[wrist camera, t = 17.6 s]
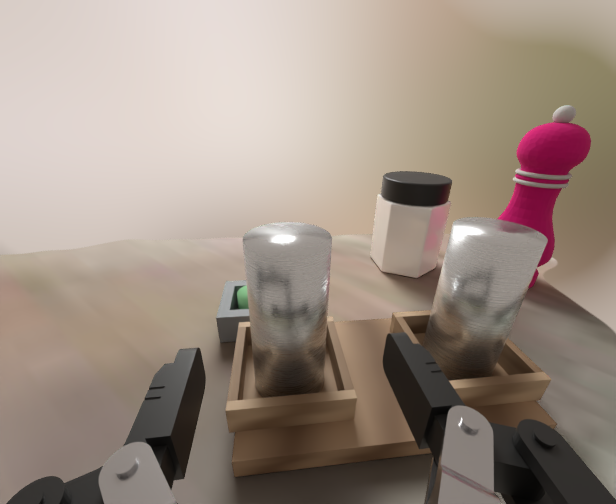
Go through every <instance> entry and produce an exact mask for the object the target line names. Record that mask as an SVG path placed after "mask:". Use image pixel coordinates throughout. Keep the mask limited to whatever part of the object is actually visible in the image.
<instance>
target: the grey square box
mask: <svg viewBox="0 0 616 504" xmlns="http://www.w3.org/2000/svg"><path fill="white" fill-rule="evenodd" d="M246 285H247V284H246V280H243V281H226V283H225V287H224V291H223V295H222V298H221V302H220V306H219V310H218V313H217V317H216V319H217V326H218V332H219V338H220V342H234V341H236V339H237V332H238V326H239V322H250V318H249V309H239V310H237V308H239V307H238V298H237V292H238V290H239V289H240V288H242V287H244V286H246Z"/></svg>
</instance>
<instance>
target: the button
mask: <svg viewBox="0 0 616 504" xmlns="http://www.w3.org/2000/svg"><path fill="white" fill-rule="evenodd" d="M237 298H238V307H239V309H249V306H248V295H247V285H246V286H244V287H242V288H240V289H239V290H238V292H237Z"/></svg>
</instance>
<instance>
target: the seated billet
mask: <svg viewBox="0 0 616 504" xmlns="http://www.w3.org/2000/svg"><path fill="white" fill-rule="evenodd" d="M547 242H548V239H547V238H546V236H544V235H543V234H542V233H540V232H538V231H536V230H534V229H532V228H529V227H527V226H524V225H521V224H517V223H513V222H509V221H504V220H499V219H491V218H481V217H467V218H461V219H458V220H456V221H454V223H453V226H452V230H451V234H450V238H449V242H448V246H447V250H446V254H445V258H444V262H443V266H442V270H441V274H440V278H439V282H438V286H437V290H436V293H435V297H434V301H433V305H432V309H431V313H430V317H429V321H428V325H427V329H426V333H425V337H424V341H423V345H422V346H423V347H424V348H425V349H426V350H428V351H429V352H430V354H431V355H432V357H433V358H434V360H435V361H436V364H438V366H439V367H440V369H441V370H442V372H443V373H444V374H445V376H446V377H447V379H448V380H449V381H451V380H462V379H472V378H483V377H491V376H492V374H493V371H494V369H495V366H496V364H497V362H498V359H499V357H500V354H501V352H502V350H503V347H504V345H505V342H506V340H507V338H508V335H509V333H510V330H511V328H512V326H513V323H514V321H515V318H516V316H517V314H518V311H519V309H520V307H521V304H522V302H523V299H524V297H525V295H526V292H527V290H528V287H529V285H530V283H531V280H532V278H533V275H534V273H535V271H536V268H537V266H538V263H539V261H540V259H541V256H542V254H543V251H544V249H545V247H546V244H547Z"/></svg>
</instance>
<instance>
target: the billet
mask: <svg viewBox="0 0 616 504" xmlns="http://www.w3.org/2000/svg"><path fill="white" fill-rule="evenodd" d="M331 245H332V237H331V235H330V233H329V232H328V231H326V230H324V229H323V228H320V227H317V226H314V225H311V224H306V223H297V222H281V223H272V224H266V225H262V226H258V227H256V228H253V229H251V230H250V231H248V232H247V233H246V234H245V235H244V236H243V250H244V261H245V272H246V284H247V295H248V306H249V318H250V329H251V340H252V351H253V363H254V374H255V384H256V388H257V390H258V392H259V394H260V395H261V396H262V397H263V398H268V397H279V396H289V395H300V394H311V393H319V392H320V390H321V388H322V386H323V382H324V368H325V350H326V333H327V315H328V298H329V280H330V262H331Z"/></svg>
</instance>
